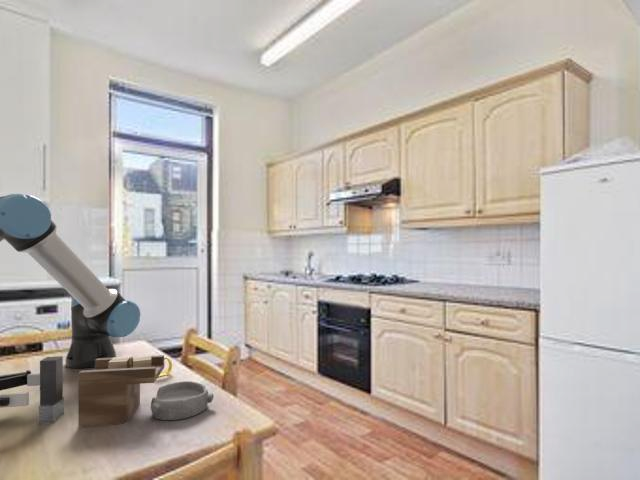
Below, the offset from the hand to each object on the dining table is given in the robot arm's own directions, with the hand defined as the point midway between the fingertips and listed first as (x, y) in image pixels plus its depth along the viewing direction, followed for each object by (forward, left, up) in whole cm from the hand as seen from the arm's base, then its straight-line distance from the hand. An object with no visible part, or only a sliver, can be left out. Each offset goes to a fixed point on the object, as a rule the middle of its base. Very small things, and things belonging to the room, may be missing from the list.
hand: (43, 387), depth 96 cm
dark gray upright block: (-1, +1, -7) cm, 8 cm away
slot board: (-1, +18, -7) cm, 19 cm away
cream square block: (-1, +16, +3) cm, 17 cm away
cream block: (-1, +21, +3) cm, 22 cm away
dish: (-1, +30, -8) cm, 31 cm away
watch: (-29, +20, -8) cm, 36 cm away
